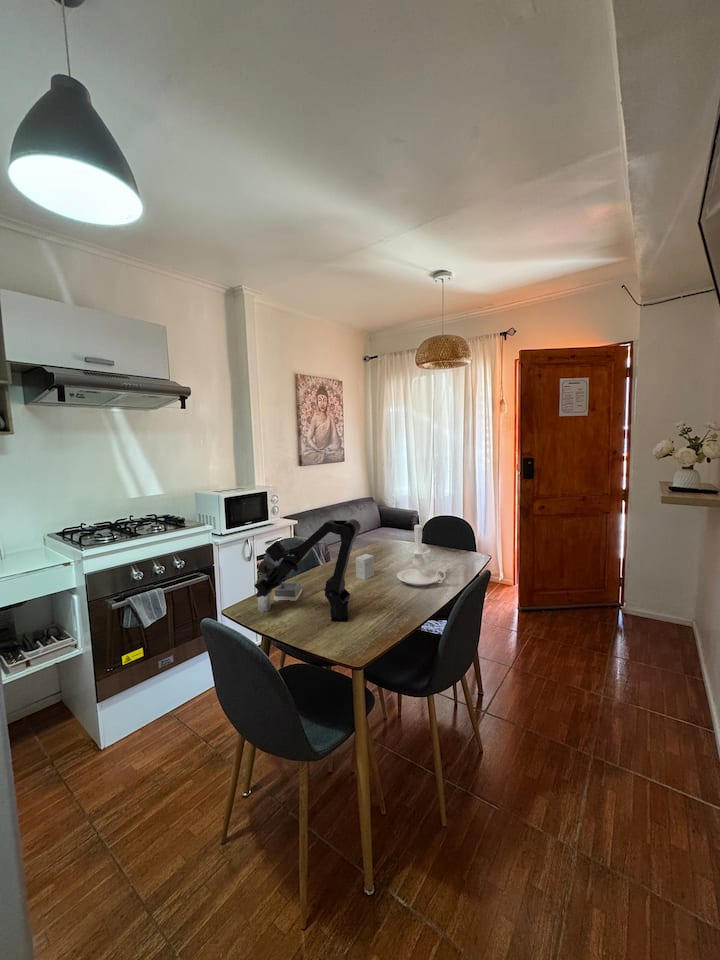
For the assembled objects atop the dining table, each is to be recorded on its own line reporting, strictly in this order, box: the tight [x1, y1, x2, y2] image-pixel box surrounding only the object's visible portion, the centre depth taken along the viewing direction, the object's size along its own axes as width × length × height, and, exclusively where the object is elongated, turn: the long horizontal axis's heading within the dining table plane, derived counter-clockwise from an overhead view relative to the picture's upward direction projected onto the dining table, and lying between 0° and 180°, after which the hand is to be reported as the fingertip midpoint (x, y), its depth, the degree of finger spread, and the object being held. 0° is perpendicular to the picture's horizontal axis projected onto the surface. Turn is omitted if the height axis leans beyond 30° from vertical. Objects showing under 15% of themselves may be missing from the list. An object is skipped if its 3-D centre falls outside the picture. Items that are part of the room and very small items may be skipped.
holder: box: [273, 581, 303, 602], centre depth 179 cm, size 10×10×4 cm
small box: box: [355, 553, 375, 581], centre depth 199 cm, size 8×6×10 cm
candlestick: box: [396, 524, 448, 587], centre depth 188 cm, size 21×25×28 cm
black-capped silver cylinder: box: [255, 577, 272, 613], centre depth 165 cm, size 5×5×12 cm
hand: (260, 593), depth 166 cm, fingers closed on black-capped silver cylinder, 5 cm apart
